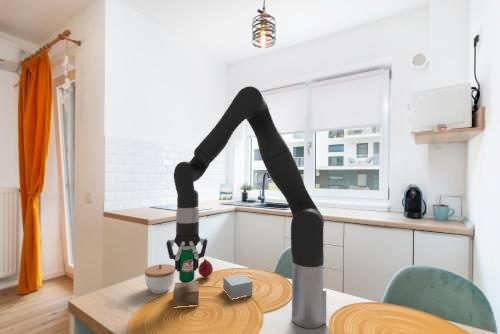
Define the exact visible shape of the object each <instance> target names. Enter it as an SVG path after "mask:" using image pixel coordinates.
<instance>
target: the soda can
mask: <svg viewBox="0 0 500 334" xmlns="http://www.w3.org/2000/svg"><path fill="white" fill-rule="evenodd" d="M194 261H195V256H194V254H193V249H192V248H191V246H184V247H183V248H182V250H181V255H180V257H179V272H178V273H179V274H178V275H179V276H178V280H179V282H184V283H187V282H194V280H195V271H194Z"/></svg>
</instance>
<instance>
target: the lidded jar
mask: <svg viewBox="0 0 500 334" xmlns="http://www.w3.org/2000/svg"><path fill="white" fill-rule="evenodd" d="M175 275H176V270H175V265H173V264H167V263H166V264H165V263H163V264H162V263H160V264H156V265H150V266H148V267H146V269H145V271H144V280H145V285H146V287H147V289H148V290H149V291H150V292H151V293H153V294H156V295H157V294H163V293H166V292H167V291H169V289H170V288H171V287H172V286H173V283H174V281H175Z"/></svg>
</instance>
